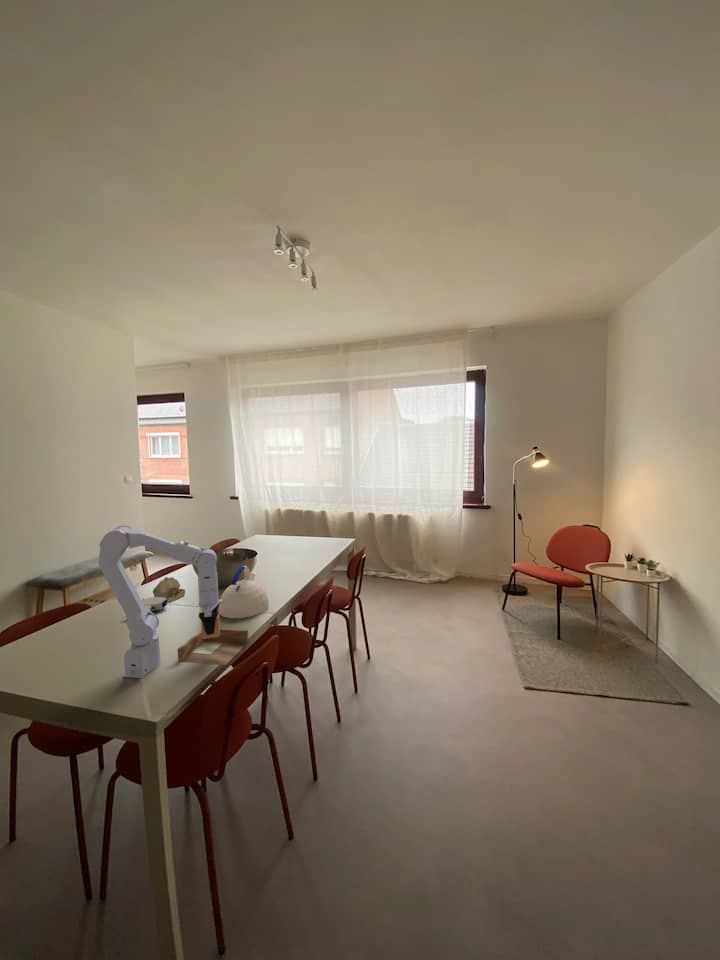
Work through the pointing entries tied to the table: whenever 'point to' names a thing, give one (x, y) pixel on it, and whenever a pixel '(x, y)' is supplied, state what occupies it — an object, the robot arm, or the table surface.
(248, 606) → the kettle
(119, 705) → the table surface
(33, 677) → the table surface
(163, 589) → the ceramic model
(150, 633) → the robot arm
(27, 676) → the table surface
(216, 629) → the cube
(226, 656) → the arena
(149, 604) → the robot toy
